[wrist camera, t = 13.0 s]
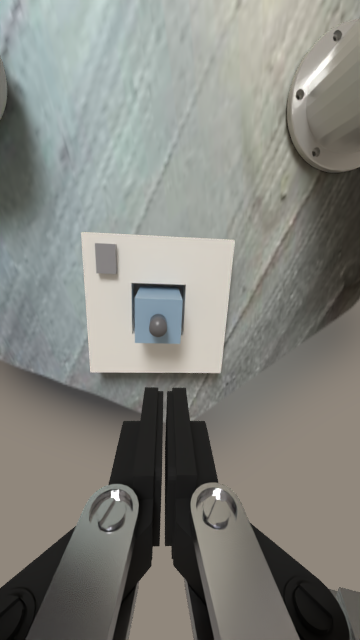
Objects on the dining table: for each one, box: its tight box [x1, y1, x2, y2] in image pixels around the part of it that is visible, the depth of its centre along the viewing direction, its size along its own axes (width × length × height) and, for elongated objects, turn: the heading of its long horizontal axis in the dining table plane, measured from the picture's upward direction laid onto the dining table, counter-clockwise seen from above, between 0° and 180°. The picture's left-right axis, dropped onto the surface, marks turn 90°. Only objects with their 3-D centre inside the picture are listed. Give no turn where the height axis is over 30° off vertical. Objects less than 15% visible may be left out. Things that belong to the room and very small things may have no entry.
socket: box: [81, 232, 235, 373], centre depth 29 cm, size 16×16×4 cm
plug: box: [135, 286, 183, 344], centre depth 26 cm, size 4×4×9 cm
